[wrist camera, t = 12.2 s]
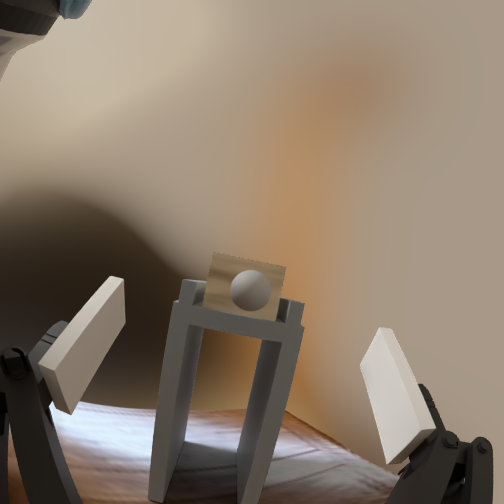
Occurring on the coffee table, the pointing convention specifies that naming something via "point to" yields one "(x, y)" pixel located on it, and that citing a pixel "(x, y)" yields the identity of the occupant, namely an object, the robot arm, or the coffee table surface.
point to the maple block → (244, 286)
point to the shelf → (261, 397)
